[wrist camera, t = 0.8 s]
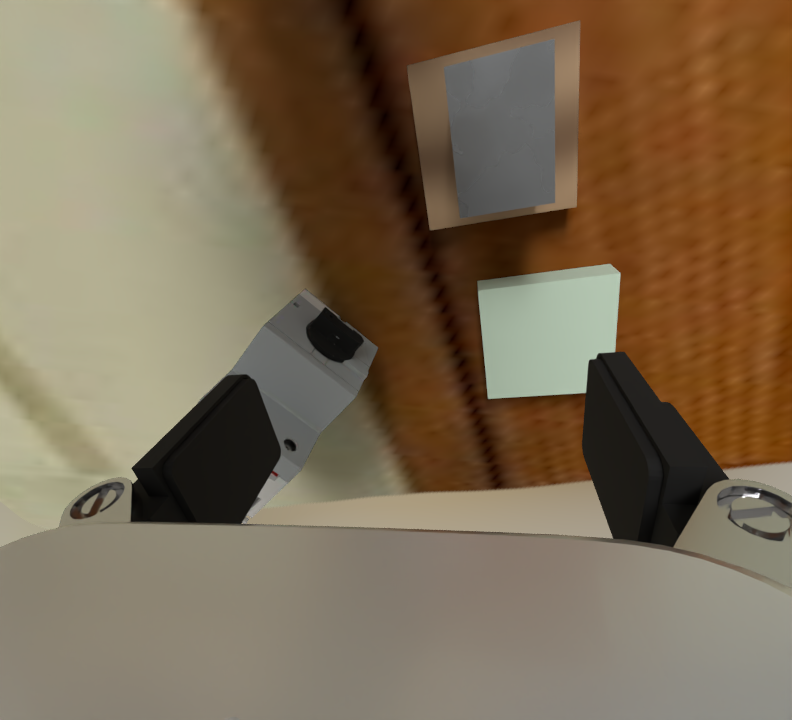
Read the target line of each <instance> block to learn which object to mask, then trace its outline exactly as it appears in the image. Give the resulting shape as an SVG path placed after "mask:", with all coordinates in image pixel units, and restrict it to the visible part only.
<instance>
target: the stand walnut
mask: <svg viewBox="0 0 792 720" xmlns="http://www.w3.org/2000/svg"><path fill="white" fill-rule="evenodd" d="M552 39H555V203H551V204H545V205H539V206H533V207H527V208H521V209H515V210H509V211H503V212H497V213H491V214H485V215H479V216H472V217H466V218H460V215H459V206H458V196H457V187H456V178H455V168H454V159H453V150H452V140H451V131H450V122H449V112H448V103H447V93H446V84H445V75H444V67H446V66H450V65H454V64H457V63H461V62H465V61H469V60H473V59H477V58H481V57H485V56H489V55H493V54H497V53H501V52H505V51H508V50H512V49H516V48H520V47H524V46H528V45H532V44H536V43H540V42H544V41H548V40H552ZM579 61H580V21H576V22H572V23H568V24H564V25H560V26H557V27H553V28H549V29H545V30H541V31H537V32H534V33H530V34H526V35H522V36H518V37H515V38H511V39H507V40H503V41H499V42H495V43H492V44H488V45H484V46H480V47H476V48H472V49H469V50H465V51H461V52H457V53H453V54H449V55H446V56H442V57H438V58H434V59H430V60H427V61H423V62H419V63H415V64H411V65H407V72H408V79H409V86H410V93H411V100H412V107H413V115H414V122H415V129H416V136H417V143H418V150H419V157H420V164H421V171H422V178H423V185H424V192H425V199H426V207H427V214H428V221H429V228H430V231H431V230H437V229H443V228H449V227H455V226H462V225H468V224H474V223H480V222H486V221H493V220H499V219H505V218H511V217H517V216H523V215H530V214H536V213H542V212H548V211H554V210H561V209H567V208H573V207H577V165H578V113H579Z"/></svg>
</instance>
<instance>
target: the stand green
mask: <svg viewBox="0 0 792 720" xmlns="http://www.w3.org/2000/svg"><path fill="white" fill-rule="evenodd" d="M477 284H478V298H479V309H480V319H481V330H482V340H483V351H484V361H485V372H486V382H487V393H488V399H495V398H511V397H527V396H544V395H560V394H576V393H586V387H587V374H588V363H589V360H590V359H596V357H597V355H598V353H611V352H615V344H616V330H617V316H618V301H619V287H620V272H619V271H617V270H616V269H615V268H614V267H613V266H612V265H611V264H605V265H597V266H590V267H582V268H574V269H566V270H559V271H551V272H543V273H535V274H527V275H520V276H512V277H504V278H496V279H489V280H481V281H477Z"/></svg>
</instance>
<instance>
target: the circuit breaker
mask: <svg viewBox="0 0 792 720" xmlns="http://www.w3.org/2000/svg"><path fill="white" fill-rule="evenodd" d="M377 350H378V347H377V346H376V345H374V344H373V343H372V342H371V341H369V340H368V339H367V338H366V337H365V336H363V335H362V334H361V333H360V332H358V331H357V330H356V329H355V328H353V327H352V326H351V325H350V324H349V323H347V322H345V323H344V322H343V321H342V320H341V319H340V316H339V315H337V314H336V313H335V312H334V311H333V310H331V309H330V308H329V307H328V306H326V305H325V304H324V303H323V302H321V301H320V300H319V299H318V298H316V297H315V296H314V295H313V294H312V293H310V292H309V291H308V290H307V289H304V290H303V291H302V292H301V293H300V294H299V295H297V296H296V297H295V298H294V299H293V300H292V301H291V302H290V303H288V304H287V305H286V306H285V307H284V308H283V309H282V310H280V311H279V312H278V313H277V314H276V315H275V316H274V317H273V318H271V319H270V320H269V321H268V322H267V323H266V324H265V325H264V326H263V327H262V328H261V330H260V331H259V332H258V334H257V335H256V337H255V338H254V339H253V341H252V342H251V344H250V345H249V346H248V348H247V349H246V351H245V352H244V353H243V355H242V356H241V358H240V359H239V361H238V362H237V363H236V365H235V366H234V368H233V369H232V370H231V371H230V372H229V373H228V374H227V375H240V374H247V375H249V376H250V377H251V379H254V380H255V381H256V383H257V386H258V388H259V391H260V394H261V396H262V399H263V402H264V404H265V407H266V410H267V412H268V415H269V418H270V420H271V423H272V426H273V429H274V431H275V434H276V437H277V439H278V442H279V445H280V448H281V456H280V459H279V461H278V463H277V464H276V466H275V468H274V469H273V471H272V473H271V475H270V476H269V478H268V480H267V481H266V483H265V485H264V486H263V488H262V490H261V491H260V493H259V495H258V496H257V498H256V500H255V501H254V503H253V505H252V507H251V508H250V510H249V512H248V513H247V515H248V516H249V517H251V518H252V517H253V516H254V515H255V514H256V513H257V512H259V511H260V510H261V509H262V508H263V507H264V506H265V505H266V504H267V503H268V502H269V501H270V500H271V499H272V498H273V497H274V496H275V495H276V494H277V493H278V492H279V491H280V490H281V489H282V488H283V487H284V486H285V485H287V484H288V483H289V482H290V481H291V480H292V479H293V478H294V477H295V476H296V475H297V474H298V473H299V472H300V471H301V470H302V468H303V466H304V464H305V462H306V460H307V458H308V456H309V454H310V452H311V450H312V448H313V446H314V445H315V443H316V441H317V439H318V437H319V435H320V433H321V432H322V431H323V430H324V429H325V428H326V427H327V426H328V425H329V424H330V423H331V422H332V421H333V420H334V419H335V418H336V417H337V416H338V415H339V414H340V413H341V412H342V411H343V410H344V409H345V408H346V407H347V406H348V405H349V404H350V403H351V402H352V401H353V400H354V399H355V398H356V396H357V394H358V392H359V390H360V388H361V385H362V383H363V381H364V379H365V378H366V377H367V375H368V373H369V372H368V370H369V367H370V365H371V363H372V361H373V359H374V356H375V354H376V352H377ZM227 375H226V376H227ZM226 376H225V377H226ZM225 377H224V378H225ZM224 378H222V379H221V380H220V381H219V382H218V383H220V382H221V381H222V380H223V379H224ZM218 383H217V384H218ZM217 384H216V385H217ZM216 385H215V386H216ZM215 386H214V387H215ZM214 387H213V388H214ZM213 388H212V389H213ZM212 389H211V390H212ZM211 390H210V391H211ZM210 391H209V392H210ZM209 392H208V393H209ZM208 393H207V394H208ZM207 394H206V395H207ZM206 395H205V396H206ZM205 396H204V397H205ZM204 397H203V398H204ZM203 398H201V400H202V399H203ZM201 400H200V401H201ZM200 401H199V402H200ZM199 402H198V403H199ZM247 515H246V516H247ZM248 520H249V519H248V518H246V517H245V518H244V520H243V522H242V523H243V524H246V523H247V521H248Z"/></svg>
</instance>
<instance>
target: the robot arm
mask: <svg viewBox="0 0 792 720" xmlns="http://www.w3.org/2000/svg"><path fill="white" fill-rule="evenodd" d="M582 449H583V455H584V458H585V461H586V464H587V467H588V469H589V472H590V475H591V478H592V481H593V483H594V486H595V489H596V492H597V494H598V497H599V500H600V502H601V505H602V508H603V511H604V514H605V516H606V519H607V522H608V525H609V528H610V530H611V533H612V536H613V539H610V538H596V537H581V536H567V535H551V534H550V535H549V534H524V533H523V534H522V533H503V532H476V531H449V530H448V531H447V530H422V529H420V530H419V529H395V528H394V529H393V528H364V527H331V526H298V525H264V524H263V525H262V524H241V523H242V522H243V520H244V518H245V517H246V515H247V513H248V512H249V510H250V508H251V507H252V505H253V503H254V501H255V500H256V498H257V496H258V495H259V493H260V491H261V490H262V488H263V486H264V485H265V483H266V481H267V480H268V478H269V476H270V475H271V473H272V471H273V469H274V468H275V466H276V464H277V463H278V461H279V459H280V456H281V448H280V445H279V442H278V439H277V437H276V434H275V431H274V429H273V426H272V423H271V420H270V418H269V415H268V412H267V410H266V407H265V404H264V402H263V399H262V396H261V394H260V391H259V388H258V386H257V383H256V381H255V380H254V379H251V377H250V376H249V375H247V374H240V375H227V376H226V377H225V378H224V379H223V380H222V381H221V382H220V383H218V384H217V385H216V386H215V387H214V388H213V389H212V390H211V391H210V392H209V393H208V394H207V395H206V396H205V397H204V398H203V399H202V400H201V401H200V402H199V403H198V404H197V405H196V406H195V407H194V408H193V409H192V410H191V411H190V412H189V413H188V414H187V415H186V416H185V417H184V418H183V419H182V420H180V421H179V422H178V423H177V424H176V425H175V426H174V427H173V428H172V429H171V430H170V431H169V432H168V433H167V434H166V435H165V436H164V437H163V438H162V439H161V440H160V441H159V442H158V443H157V444H156V445H155V446H154V447H153V448H152V449H151V450H150V451H149V452H148V453H147V454H146V455H145V456H144V457H142V458H141V459H140V460H139V461H138V462H137V463H136V464H135V465H134V466H133V467H132V470H133V471H134V473H135V475H136V476H137V478H138V480H137V481H136V482H135V483H134V484H132V482H131V480H129V479H127V478H122V477H118V478H112V479H108V480H105V481H102V482H100V483H98V484H96V485H94V486H92V487H90V488H88V489H87V490H85V491H84V492H82V493H81V494H79V495H78V496H77V497H76V498H75V499H73V500H72V501H71V502H70V503H69V505H68V506H67V507H66V508H65V510H64V512H63V514H62V517H61V521H60V525H59V527H58V528H56V529H51V530H47V531H44V532H40V533H37V534H34V535H30V536H27V537H24V538H21V539H19V540H17V541H14V542H11V543H9V544H6V545H4V546H2V547H0V720H792V496H791V495H789V494H787V493H785V492H783V491H781V490H779V489H776V488H774V487H772V486H769V485H765V484H762V483H759V482H755V481H748V480H741V479H734V480H729V478H728V477H727V476H726V474H725V473H724V472H723V470H722V469H721V468H720V467H719V465H718V464H717V463H716V461H715V460H714V459H713V457H712V456H711V455H710V453H709V452H708V451H707V449H706V448H705V447H704V446H703V444H702V443H701V442H700V440H699V439H698V438H697V436H696V435H695V434H694V432H693V431H692V430H691V428H690V427H689V426H688V425H687V423H686V422H685V421H684V419H683V418H682V417H681V415H680V414H679V413H678V411H677V410H676V409H675V408H674V406H672V405H671V404H670V403H668V402H661V401H660V400H659V399H658V397H657V396H656V395H655V393H654V392H653V390H652V389H651V388H650V386H649V385H648V384H647V382H646V381H645V379H644V378H643V377H642V375H641V374H640V373H639V371H638V370H637V368H636V367H635V366H634V364H633V363H632V362H631V360H630V359H629V357H628V356H627V355H626V353H625V352H611V353H598V355H597V357H596V359H590V360H589V363H588V374H587V387H586V400H585V413H584V426H583V439H582Z"/></svg>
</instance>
